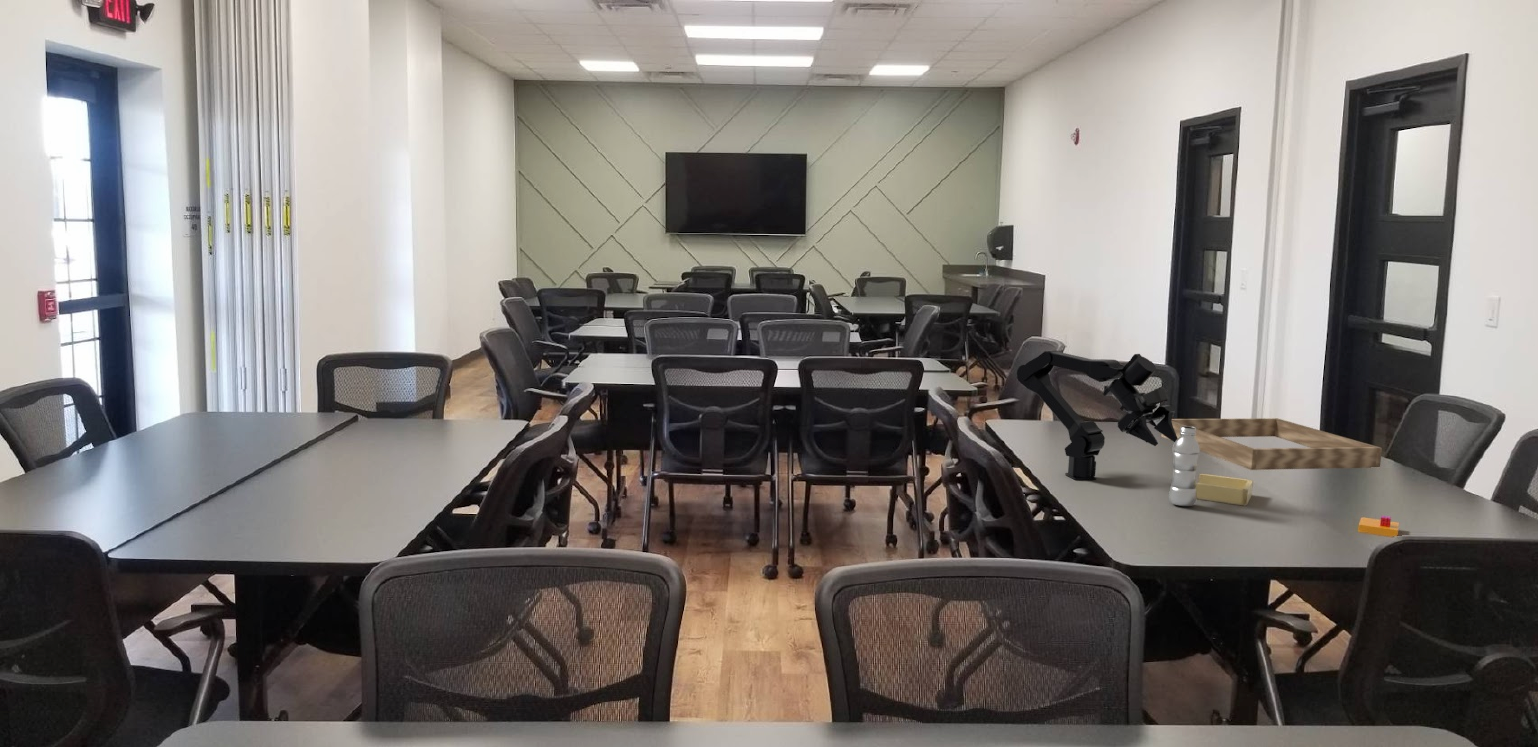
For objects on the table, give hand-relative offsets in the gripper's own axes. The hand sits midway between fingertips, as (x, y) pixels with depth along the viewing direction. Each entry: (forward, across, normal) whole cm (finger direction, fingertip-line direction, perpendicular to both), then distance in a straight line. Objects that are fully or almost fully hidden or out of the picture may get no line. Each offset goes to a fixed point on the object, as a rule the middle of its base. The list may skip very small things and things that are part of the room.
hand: (1166, 442), depth 283 cm
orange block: (+46, +15, -19) cm, 52 cm away
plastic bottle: (+15, -4, +6) cm, 17 cm away
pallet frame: (-3, +83, +21) cm, 86 cm away
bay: (+15, +14, +6) cm, 21 cm away
